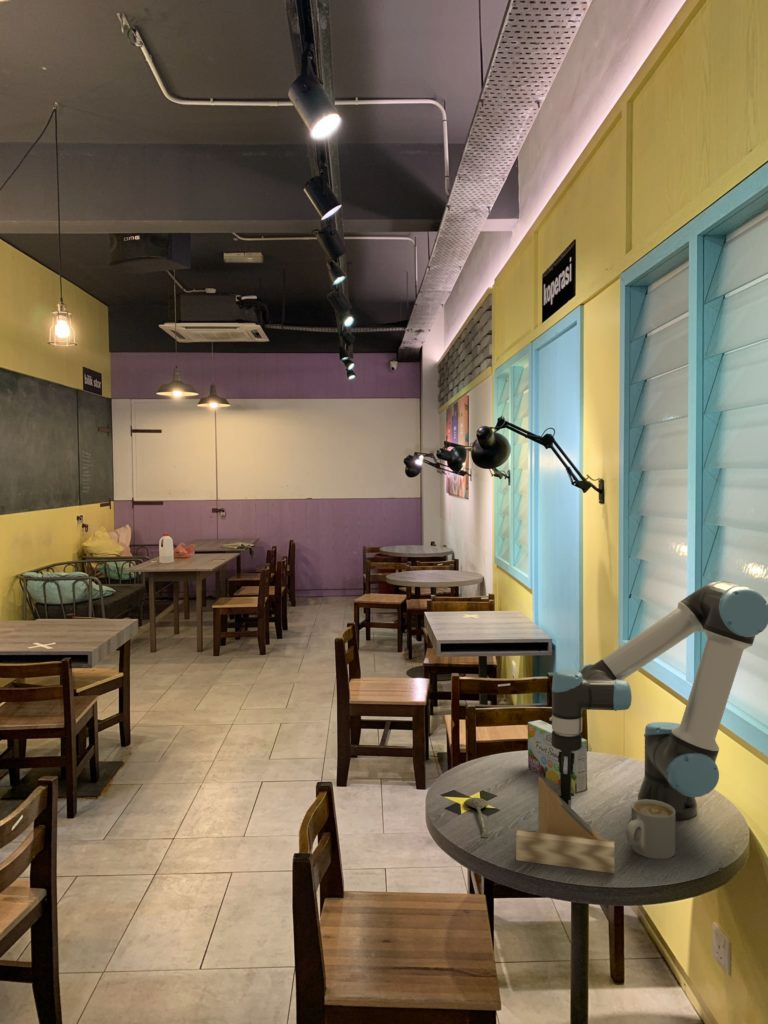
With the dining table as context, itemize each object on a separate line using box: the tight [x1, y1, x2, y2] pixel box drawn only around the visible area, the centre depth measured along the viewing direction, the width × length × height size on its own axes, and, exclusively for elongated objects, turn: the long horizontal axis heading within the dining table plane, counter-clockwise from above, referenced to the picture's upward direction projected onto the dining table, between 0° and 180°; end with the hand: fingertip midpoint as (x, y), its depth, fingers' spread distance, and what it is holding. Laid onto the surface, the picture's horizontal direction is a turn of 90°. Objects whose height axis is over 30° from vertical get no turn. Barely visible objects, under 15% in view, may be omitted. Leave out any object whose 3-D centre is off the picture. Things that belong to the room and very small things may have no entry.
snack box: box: [527, 719, 588, 794], centre depth 217 cm, size 21×6×15 cm, turn 28°
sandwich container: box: [537, 777, 603, 840], centre depth 178 cm, size 9×15×15 cm, turn 93°
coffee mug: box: [625, 799, 676, 860], centre depth 174 cm, size 13×10×10 cm
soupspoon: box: [463, 797, 489, 838], centre depth 191 cm, size 22×3×7 cm
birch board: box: [515, 828, 616, 874], centre depth 167 cm, size 22×3×6 cm, turn 74°
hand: (565, 822), depth 185 cm, fingers closed
